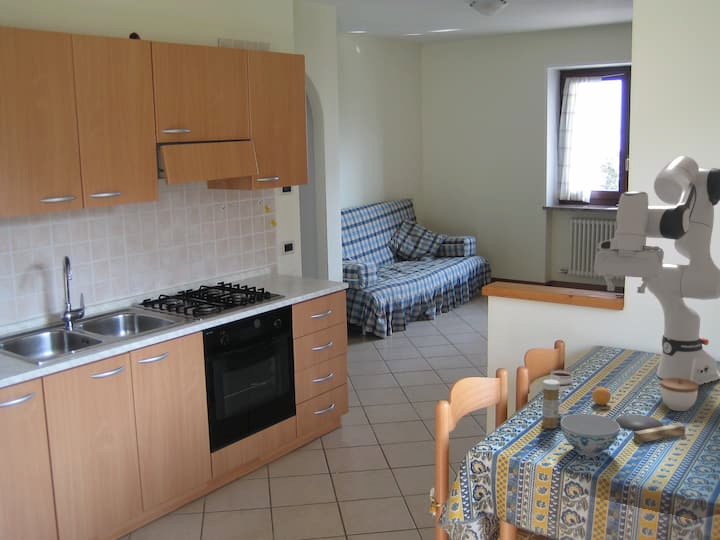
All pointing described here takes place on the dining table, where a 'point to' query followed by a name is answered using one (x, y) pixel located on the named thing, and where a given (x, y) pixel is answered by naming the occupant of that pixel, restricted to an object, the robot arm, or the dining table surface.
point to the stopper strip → (659, 433)
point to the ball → (601, 396)
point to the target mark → (638, 422)
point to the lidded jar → (679, 393)
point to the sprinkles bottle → (550, 403)
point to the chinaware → (589, 432)
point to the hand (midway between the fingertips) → (625, 292)
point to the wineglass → (562, 384)
